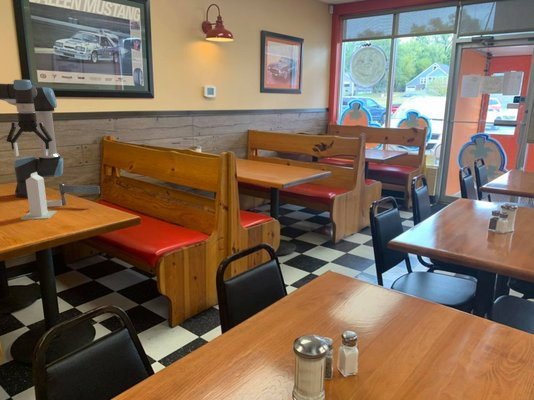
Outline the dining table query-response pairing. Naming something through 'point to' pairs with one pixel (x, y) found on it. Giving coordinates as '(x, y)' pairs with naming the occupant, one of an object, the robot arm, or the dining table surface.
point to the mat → (46, 216)
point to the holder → (57, 203)
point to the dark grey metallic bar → (79, 189)
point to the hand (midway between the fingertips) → (31, 155)
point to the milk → (36, 195)
